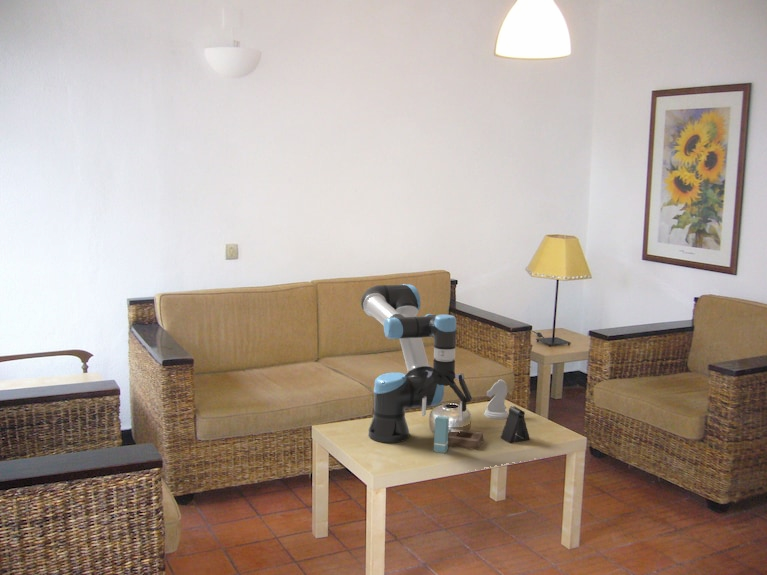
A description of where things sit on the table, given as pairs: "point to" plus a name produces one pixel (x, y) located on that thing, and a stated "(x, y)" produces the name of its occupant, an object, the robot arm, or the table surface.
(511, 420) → the picture frame
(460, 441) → the board
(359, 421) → the table surface
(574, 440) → the table surface
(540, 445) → the table surface
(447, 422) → the peg
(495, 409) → the chess piece
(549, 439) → the table surface
